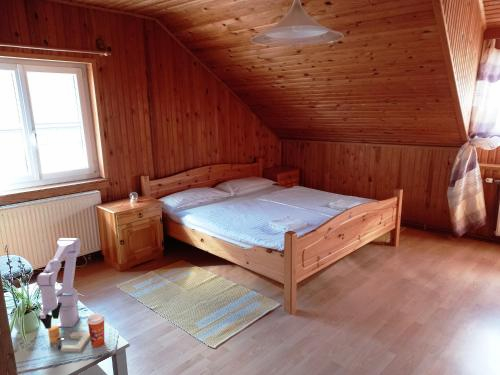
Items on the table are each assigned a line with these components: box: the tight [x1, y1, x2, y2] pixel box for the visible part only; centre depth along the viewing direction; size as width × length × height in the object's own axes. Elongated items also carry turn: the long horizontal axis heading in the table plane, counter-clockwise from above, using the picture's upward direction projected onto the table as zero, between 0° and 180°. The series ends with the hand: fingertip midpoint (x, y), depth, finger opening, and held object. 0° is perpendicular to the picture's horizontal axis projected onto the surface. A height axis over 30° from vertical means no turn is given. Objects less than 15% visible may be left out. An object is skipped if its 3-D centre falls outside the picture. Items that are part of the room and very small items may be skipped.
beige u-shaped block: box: [60, 331, 90, 353], centre depth 172 cm, size 12×9×2 cm
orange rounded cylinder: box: [48, 325, 61, 345], centre depth 172 cm, size 4×4×6 cm
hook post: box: [56, 337, 65, 351], centre depth 167 cm, size 2×3×5 cm, turn 91°
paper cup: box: [86, 312, 106, 348], centre depth 170 cm, size 8×8×14 cm
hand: (52, 323), depth 170 cm, fingers open, 7 cm apart
